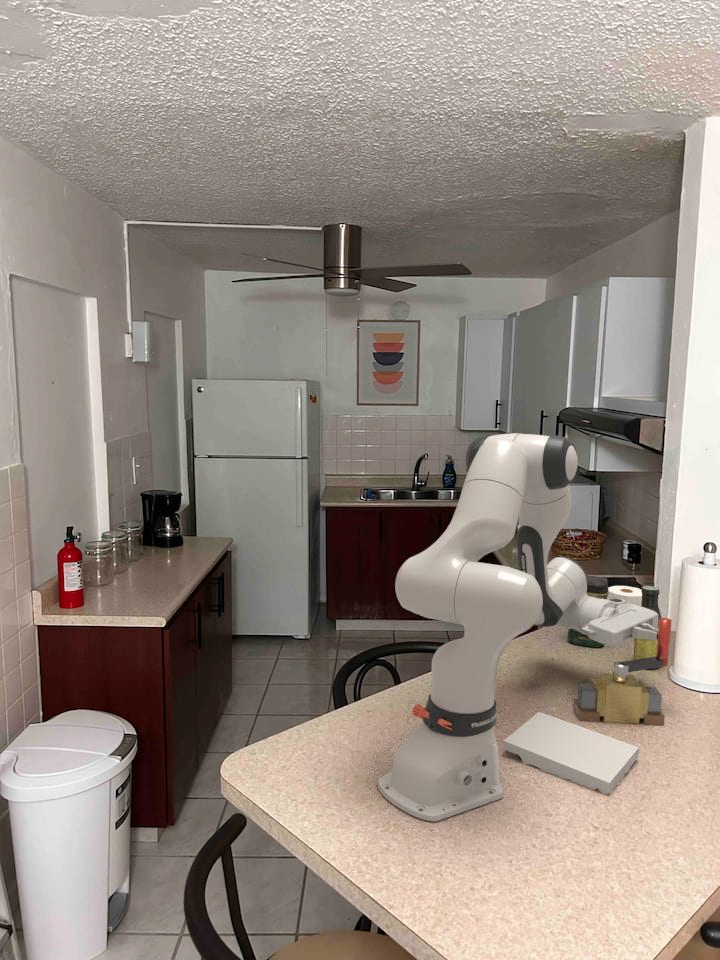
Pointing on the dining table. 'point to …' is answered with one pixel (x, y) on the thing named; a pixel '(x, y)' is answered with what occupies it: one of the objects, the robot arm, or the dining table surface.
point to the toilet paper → (626, 594)
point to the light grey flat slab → (572, 752)
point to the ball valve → (618, 701)
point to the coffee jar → (598, 590)
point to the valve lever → (647, 663)
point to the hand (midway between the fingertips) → (659, 635)
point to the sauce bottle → (647, 646)
